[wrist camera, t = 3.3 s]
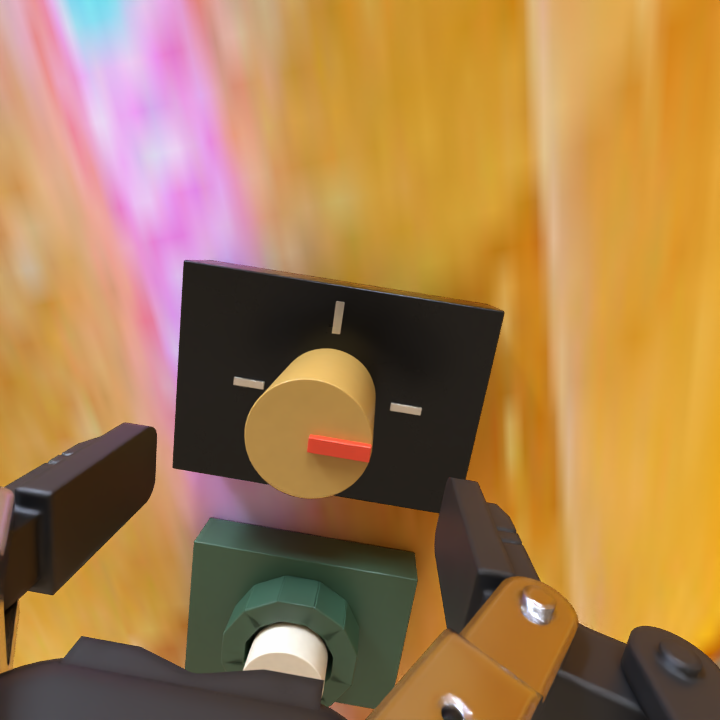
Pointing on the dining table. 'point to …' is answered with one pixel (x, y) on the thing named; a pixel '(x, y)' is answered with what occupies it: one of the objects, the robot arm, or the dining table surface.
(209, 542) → the button block
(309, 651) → the button
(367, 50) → the dining table surface
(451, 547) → the robot arm
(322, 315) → the panel
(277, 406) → the knob
